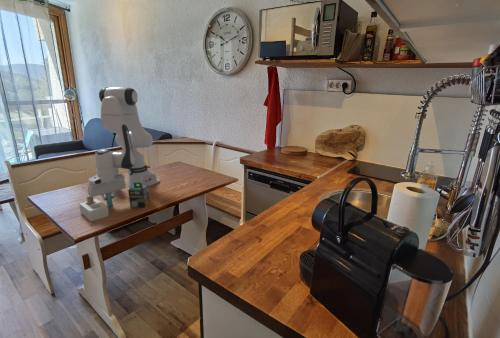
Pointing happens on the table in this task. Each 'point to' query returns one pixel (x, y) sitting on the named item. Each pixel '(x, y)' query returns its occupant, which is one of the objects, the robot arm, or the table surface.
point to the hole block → (94, 210)
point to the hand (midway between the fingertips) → (109, 199)
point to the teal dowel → (109, 200)
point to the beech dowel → (90, 200)
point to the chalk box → (139, 195)
